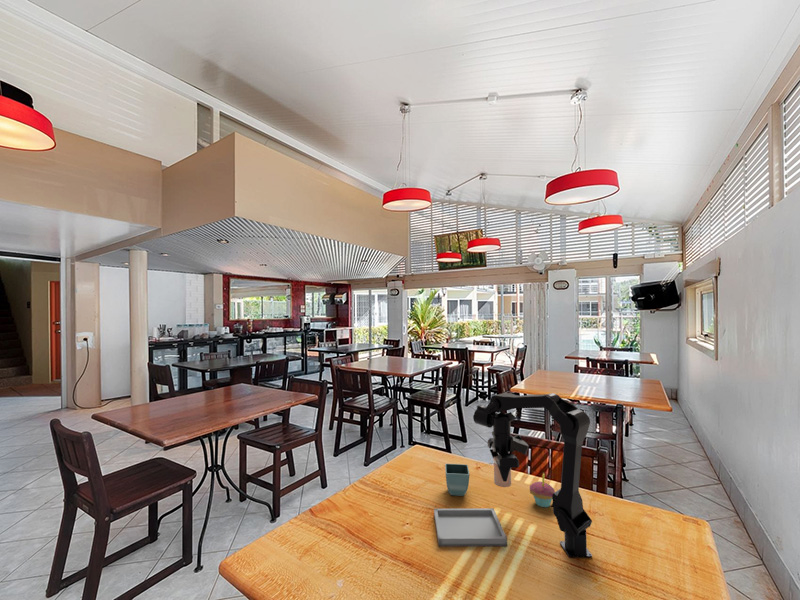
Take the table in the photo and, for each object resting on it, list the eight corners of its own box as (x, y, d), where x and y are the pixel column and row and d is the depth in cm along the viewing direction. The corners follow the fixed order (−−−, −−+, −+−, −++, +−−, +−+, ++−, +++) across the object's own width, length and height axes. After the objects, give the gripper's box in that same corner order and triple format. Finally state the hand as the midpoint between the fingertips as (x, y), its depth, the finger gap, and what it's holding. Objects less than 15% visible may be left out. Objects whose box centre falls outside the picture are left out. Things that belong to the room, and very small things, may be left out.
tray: (507, 546, 107) (507, 538, 107) (438, 546, 107) (438, 538, 107) (493, 515, 123) (493, 508, 123) (434, 515, 123) (434, 508, 123)
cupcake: (559, 510, 125) (558, 475, 125) (534, 510, 125) (533, 475, 125) (549, 497, 134) (549, 464, 134) (526, 497, 134) (525, 464, 134)
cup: (514, 487, 121) (513, 463, 121) (495, 487, 121) (495, 463, 121) (509, 479, 127) (508, 455, 127) (491, 479, 127) (491, 455, 127)
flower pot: (468, 487, 142) (467, 464, 142) (470, 499, 133) (469, 474, 133) (445, 486, 142) (445, 463, 143) (445, 498, 134) (445, 473, 134)
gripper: (535, 441, 115) (535, 491, 115) (517, 422, 134) (518, 465, 133) (499, 441, 115) (500, 490, 115) (487, 422, 134) (487, 465, 134)
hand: (502, 477), depth 124 cm, fingers closed on cup, 6 cm apart
